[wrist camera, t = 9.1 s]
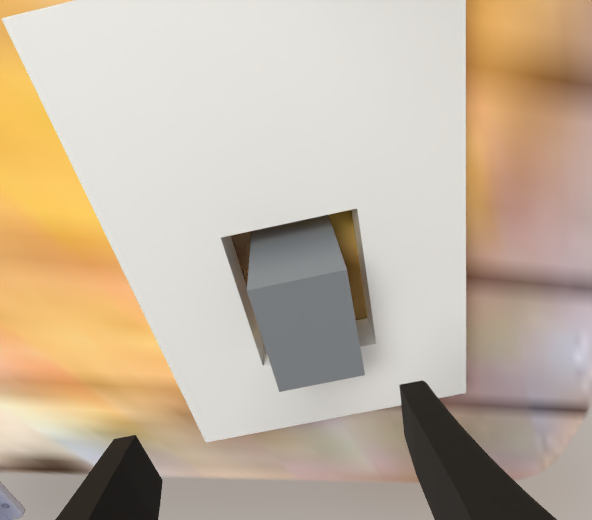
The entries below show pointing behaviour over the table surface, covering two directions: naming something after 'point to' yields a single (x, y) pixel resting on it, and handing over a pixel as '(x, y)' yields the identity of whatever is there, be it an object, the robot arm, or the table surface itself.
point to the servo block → (303, 304)
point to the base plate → (269, 176)
